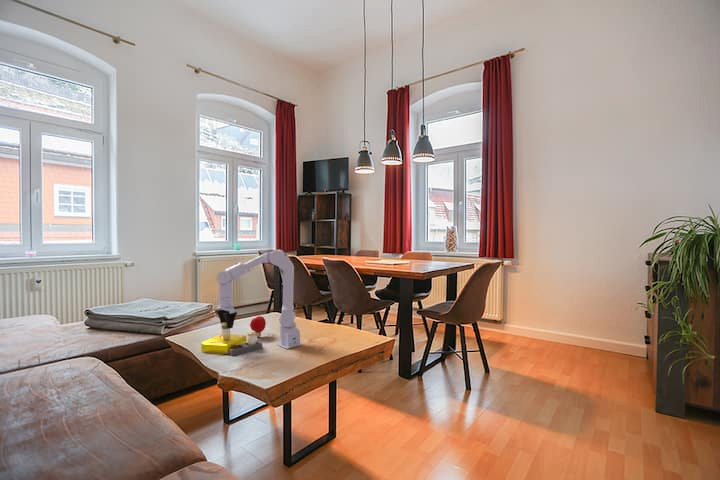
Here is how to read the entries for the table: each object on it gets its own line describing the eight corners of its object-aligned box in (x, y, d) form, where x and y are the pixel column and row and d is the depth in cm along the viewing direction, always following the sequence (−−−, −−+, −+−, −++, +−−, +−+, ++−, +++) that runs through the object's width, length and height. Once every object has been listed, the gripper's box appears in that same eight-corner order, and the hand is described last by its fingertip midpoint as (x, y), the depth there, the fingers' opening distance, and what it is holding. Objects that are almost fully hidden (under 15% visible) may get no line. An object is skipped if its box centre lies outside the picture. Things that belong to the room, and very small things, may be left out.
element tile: (199, 352, 157) (199, 342, 157) (220, 342, 172) (220, 332, 172) (228, 355, 153) (228, 344, 153) (248, 344, 168) (248, 334, 168)
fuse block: (262, 348, 160) (262, 343, 160) (231, 355, 151) (231, 350, 151) (256, 345, 165) (256, 340, 165) (226, 352, 156) (226, 347, 156)
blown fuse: (231, 338, 162) (231, 322, 162) (223, 339, 160) (223, 324, 159) (228, 336, 165) (228, 321, 165) (220, 338, 162) (220, 322, 162)
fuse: (257, 348, 160) (257, 333, 160) (249, 350, 158) (249, 334, 157) (254, 346, 163) (253, 331, 163) (246, 348, 160) (245, 333, 160)
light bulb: (260, 340, 172) (259, 319, 171) (247, 339, 173) (246, 319, 173) (269, 334, 181) (268, 315, 181) (256, 334, 182) (255, 314, 182)
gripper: (211, 296, 165) (212, 325, 165) (222, 300, 154) (223, 331, 154) (226, 293, 169) (227, 322, 170) (238, 297, 158) (239, 328, 159)
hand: (226, 326), depth 162 cm, fingers open, 7 cm apart
